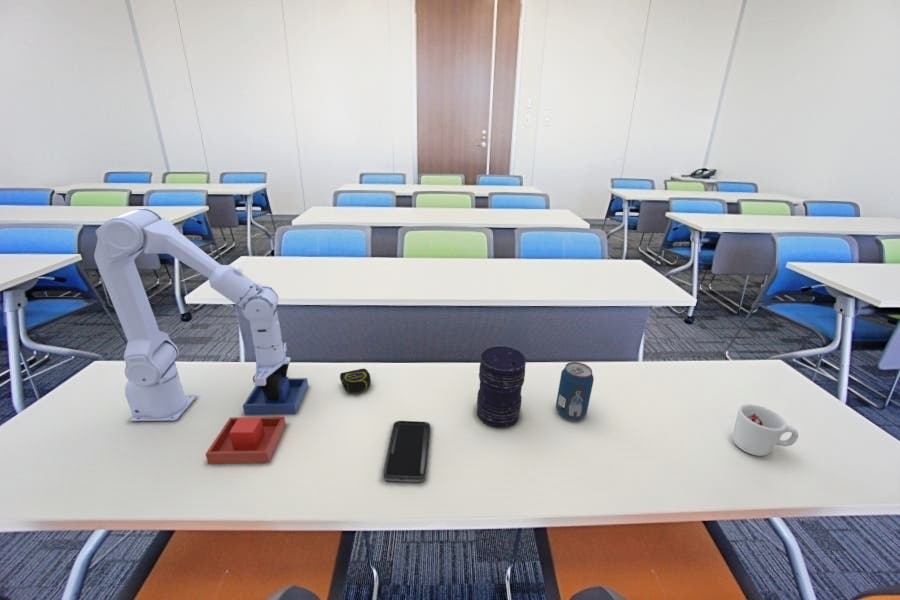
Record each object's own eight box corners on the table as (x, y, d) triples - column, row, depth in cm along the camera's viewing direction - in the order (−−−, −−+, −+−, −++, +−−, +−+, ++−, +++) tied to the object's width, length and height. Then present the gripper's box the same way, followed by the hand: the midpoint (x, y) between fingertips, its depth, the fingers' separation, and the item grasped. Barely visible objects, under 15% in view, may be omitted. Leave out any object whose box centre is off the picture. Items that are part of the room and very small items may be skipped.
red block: (233, 450, 78) (229, 432, 76) (242, 434, 82) (238, 417, 80) (256, 449, 78) (252, 432, 76) (264, 433, 82) (261, 416, 80)
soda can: (571, 400, 96) (579, 357, 91) (592, 418, 90) (602, 373, 86) (548, 407, 93) (555, 364, 88) (568, 426, 88) (577, 381, 83)
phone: (430, 422, 86) (424, 478, 72) (430, 426, 86) (424, 482, 72) (393, 420, 86) (381, 476, 72) (394, 424, 86) (381, 480, 72)
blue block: (265, 404, 91) (262, 388, 89) (271, 392, 95) (269, 376, 93) (284, 403, 91) (282, 388, 89) (290, 392, 95) (288, 376, 93)
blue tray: (244, 414, 88) (242, 405, 87) (261, 387, 97) (260, 378, 96) (296, 414, 89) (294, 404, 88) (308, 386, 98) (307, 378, 97)
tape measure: (367, 377, 102) (366, 365, 101) (373, 392, 97) (373, 379, 95) (340, 383, 100) (339, 370, 98) (345, 399, 94) (344, 385, 92)
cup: (780, 442, 85) (794, 412, 82) (796, 469, 78) (812, 438, 75) (722, 429, 88) (734, 400, 85) (733, 454, 81) (746, 424, 78)
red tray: (208, 464, 75) (205, 453, 74) (232, 426, 84) (229, 417, 83) (268, 462, 76) (266, 452, 75) (286, 425, 85) (284, 416, 84)
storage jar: (467, 411, 91) (470, 355, 85) (496, 395, 97) (501, 341, 91) (499, 435, 84) (505, 376, 78) (528, 416, 90) (536, 360, 84)
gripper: (275, 359, 80) (284, 413, 86) (296, 326, 94) (303, 375, 99) (239, 360, 80) (250, 414, 85) (265, 326, 93) (274, 375, 99)
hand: (277, 393), depth 92 cm, fingers closed on blue block, 4 cm apart
